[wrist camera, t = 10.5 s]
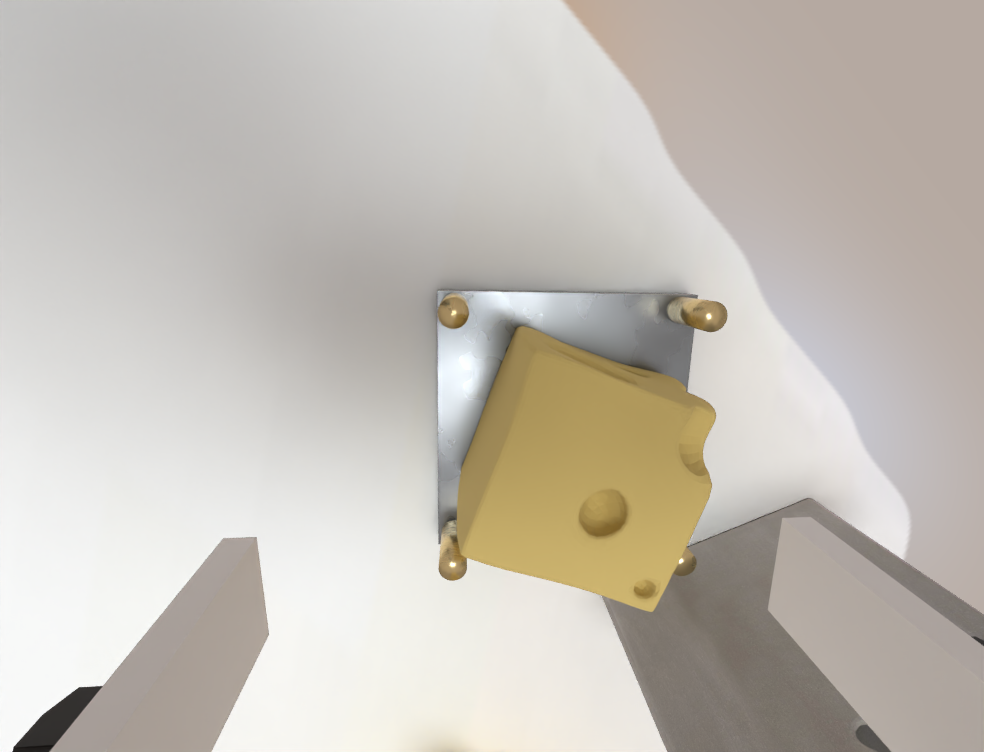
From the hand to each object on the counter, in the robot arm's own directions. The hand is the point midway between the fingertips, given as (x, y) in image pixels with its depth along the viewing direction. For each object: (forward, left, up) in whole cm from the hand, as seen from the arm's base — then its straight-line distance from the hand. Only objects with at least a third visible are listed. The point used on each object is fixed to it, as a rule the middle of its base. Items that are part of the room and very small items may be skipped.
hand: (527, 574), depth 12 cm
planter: (+15, +17, -20) cm, 30 cm away
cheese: (+2, +4, -19) cm, 19 cm away
